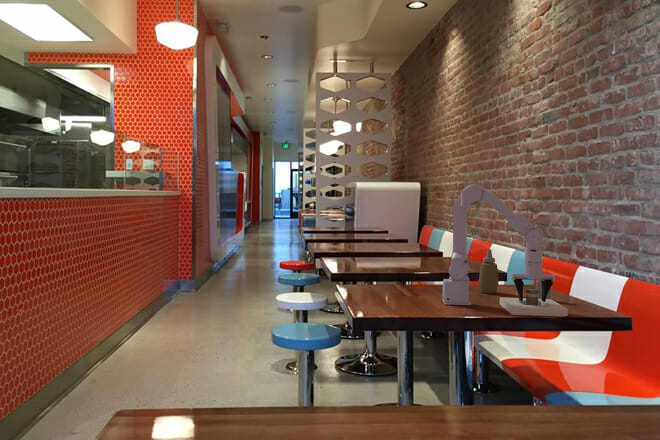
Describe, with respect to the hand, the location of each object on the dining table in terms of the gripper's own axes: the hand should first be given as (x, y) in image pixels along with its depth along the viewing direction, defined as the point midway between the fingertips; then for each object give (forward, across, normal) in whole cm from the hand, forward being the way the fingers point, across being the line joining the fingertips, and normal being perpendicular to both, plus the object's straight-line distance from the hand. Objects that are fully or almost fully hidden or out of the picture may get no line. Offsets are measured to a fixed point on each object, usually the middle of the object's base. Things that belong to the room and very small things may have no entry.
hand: (532, 300), depth 187 cm
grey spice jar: (+3, 0, 0) cm, 3 cm away
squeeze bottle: (+3, +8, -34) cm, 35 cm away
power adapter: (+3, -10, -20) cm, 23 cm away
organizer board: (+3, 0, 0) cm, 3 cm away
